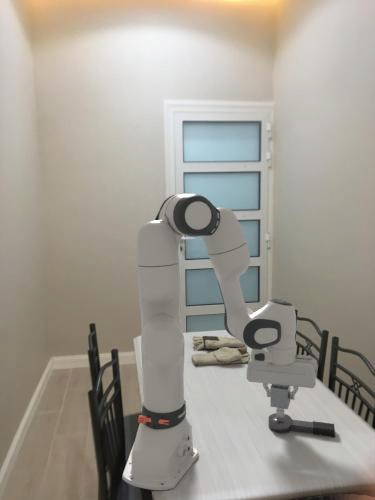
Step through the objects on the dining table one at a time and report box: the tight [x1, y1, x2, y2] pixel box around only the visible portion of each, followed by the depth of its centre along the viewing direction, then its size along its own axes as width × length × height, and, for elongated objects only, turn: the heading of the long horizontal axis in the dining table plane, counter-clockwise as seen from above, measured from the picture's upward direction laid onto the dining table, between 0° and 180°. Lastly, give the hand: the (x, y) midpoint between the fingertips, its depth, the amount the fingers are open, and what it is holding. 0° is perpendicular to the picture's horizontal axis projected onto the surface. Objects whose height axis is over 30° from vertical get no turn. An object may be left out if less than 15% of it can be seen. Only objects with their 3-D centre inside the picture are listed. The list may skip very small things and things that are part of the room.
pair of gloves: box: [190, 335, 251, 366], centre depth 183 cm, size 30×26×5 cm
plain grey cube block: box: [270, 384, 291, 410], centre depth 122 cm, size 5×5×6 cm
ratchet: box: [268, 407, 336, 438], centre depth 121 cm, size 7×19×6 cm, turn 74°
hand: (280, 397), depth 122 cm, fingers closed on plain grey cube block, 5 cm apart
